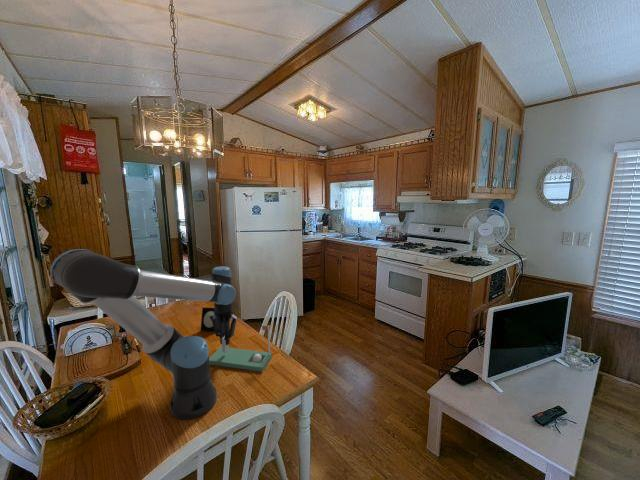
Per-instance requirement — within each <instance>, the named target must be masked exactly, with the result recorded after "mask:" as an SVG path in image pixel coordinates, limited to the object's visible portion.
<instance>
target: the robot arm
mask: <svg viewBox="0 0 640 480" xmlns="http://www.w3.org/2000/svg"><path fill="white" fill-rule="evenodd" d="M51 263H52V264H51V266H50V275H51V276H50V277H51V279H52V281H53V282H54V283H55V284H56V285H58V286H59V287H62V288H63V289H64V290H66V291H67V292H68V293H70V295H72V297H73V296H74V297H75V298H76V299H77V300H78V301H80V302H81V303H82V304H93V305H95V306H96V307H97V308H98V309H99V310H101V311H102V312H103V313H104V314H105V315H106V316H108V317H109V318H111V320H113V321H114V322H115V323H116V324H117V325H119V326H120V327H121V328H123V329H124V331H127V333H128V334H130V335H131V336H133V338H135V339H136V340H137V341H138V342H140V344H141V345H142V351H143V352H144V353H145V354H146V355H147V356H149V358H150V359H151V360H152V361H153V362H155V363H157V364H158V365H160V366H161V367H163V368H164V369H166V370H167V371H169V372H170V373H171V374H172V378H173V387H174V388H173V393H172V395H171V400H170V403H169V404H170V405H169V407H170V414H171V416H172V417H173V418H175V419H177V420H181V421H185V420H188V421H189V420H193V419H195V418H198V417H200V416H203V415H205V414H206V413H208V412H209V411H210V410H211V409H212V408H213V407H214V406H215V404H216V402H217V400H218V399H217V397H218V396H217V389H216V387H215V386H214V384H213V382H212V380H211V371H210V365H209V358H210V356H209V354H210V349H209V345H208V342H207V341H206V340H205V338H203V337H202V336H197V335H194V336H193V335H188V336H184V335H183V334H181V333H180V332H179V331H178V330H177V328H175V327H174V326H173V325H172V324H170V323H167V324H166V323H165V324H164V323H163V322H162V321H161V320H160V319H159V318H158V317H157V316H156V315H155V314H153V312H152V311H150V310H149V308H147V307H146V306H145V305H144V304H143V303H142V302H141V301H140V300H138V299H139V298H137V297H144V298H145V297H146V298H156V299H169V300H182V301H183V300H185V301H194V302H208V303H213V306H214V307H213V308H214V310H215V313H214V314H213V315H211V316H210V319H211V320H212V323H213V327H214V330H215V332H214V334H215V337H219V343H220V345H221V347H222V352H225V353H226V351H227V350H228V349H229V348H230V347H229V344H230V339H231V338H232V337H234V334H235V330H236V324H237V321H238V320H239V316H235V315H234V312H233V302H234V300H235V299H236V295H237V292H236V291H237V290H236V288H235V287H234V286H233V285H232V271H231V267H229V266H222V265H221V266H215V267H214V268H212V271H211V272H212V273H211V274H207V275H203V276H199V277H187V276H180V275H175V274H169V273H162V272H157V271H156V272H154V271H148V270H143V269H140V268H139V266H138V265H133V264H129V263H128V264H127V263H123V262H121V261H117V260H115V259H112V258H110V257H107V256H105V255H102V254H99V253H96V252H94V251H92V250H90V249H85V248H84V249H81V248H80V249H78V248H77V249H70V250H67V251H64V252H63V253H60V254H59V255H58V256H57V257H55V259H54V260H53V262H51Z"/></svg>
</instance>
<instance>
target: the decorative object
mask: <svg viewBox="0 0 640 480" xmlns="http://www.w3.org/2000/svg"><path fill="white" fill-rule="evenodd" d="M201 309H202V310H201V311H202V312H201V320H200V332H212V333H215V330H214V327H213V323H212V320H211V319H210V316H211V315H213V314H214V313H215V310H214V307H202V308H201Z"/></svg>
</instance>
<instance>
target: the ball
mask: <svg viewBox="0 0 640 480" xmlns="http://www.w3.org/2000/svg"><path fill="white" fill-rule="evenodd" d="M262 360H263V359H262V357H261V355H260V354H255V355H254V356H253V360H252V362H254V363H261V362H262Z"/></svg>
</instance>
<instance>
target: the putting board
mask: <svg viewBox="0 0 640 480" xmlns="http://www.w3.org/2000/svg"><path fill="white" fill-rule="evenodd" d="M261 329H262V331H267V341H268V342H267V344H268V345H267V346H268V347H267V348H268V352H267V351H258V350H251V349H243V348H242V349H241V348H235V347H229V349H228V350H227V351H226V353H225V352H222V346H220V347H219V348H217V350H216V351H215V352H214V353H213V354H212V355H211V356H209V366H218V367H226V368H232V369H241V370H246V371H247V370H249V371H253V372H261V373H263V372H264V370H265V369H266V367H267V366H268V364H269V363H270V361H271V359H272V358H271V357H273V352H271V338H270V337H271V336H270V335H271V333H270V332H271V331H270V325H262V328H261ZM255 354H260V355H261V357H262V360H261V362H260V363H254V362H253V356H254V355H255Z"/></svg>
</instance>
